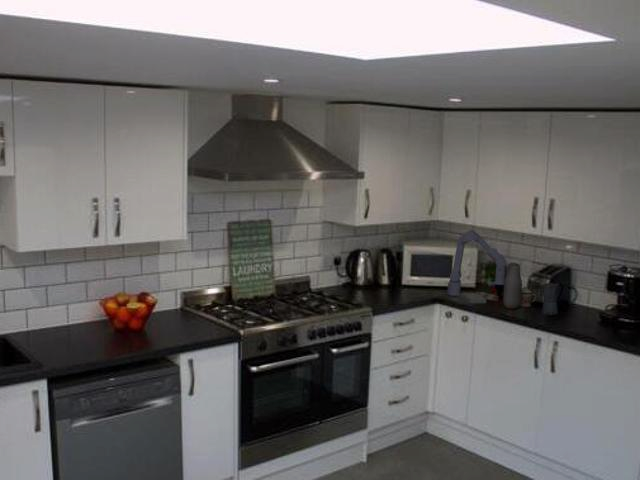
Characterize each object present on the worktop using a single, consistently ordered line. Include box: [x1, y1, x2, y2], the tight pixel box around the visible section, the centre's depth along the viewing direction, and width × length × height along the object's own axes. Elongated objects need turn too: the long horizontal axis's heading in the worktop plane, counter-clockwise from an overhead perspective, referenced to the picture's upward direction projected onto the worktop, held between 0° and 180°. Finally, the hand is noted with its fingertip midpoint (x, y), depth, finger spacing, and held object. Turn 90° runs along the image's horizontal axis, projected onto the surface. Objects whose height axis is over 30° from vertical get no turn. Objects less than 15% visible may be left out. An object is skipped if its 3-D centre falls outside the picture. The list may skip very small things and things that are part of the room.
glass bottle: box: [502, 262, 523, 310], centre depth 402 cm, size 10×10×28 cm
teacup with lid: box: [519, 286, 537, 308], centre depth 413 cm, size 12×9×12 cm
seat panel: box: [460, 292, 487, 304], centre depth 425 cm, size 18×10×2 cm, turn 7°
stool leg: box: [476, 290, 499, 302], centre depth 429 cm, size 16×3×3 cm, turn 37°
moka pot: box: [540, 280, 565, 316], centre depth 393 cm, size 10×15×20 cm, turn 111°
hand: (498, 296), depth 429 cm, fingers closed
